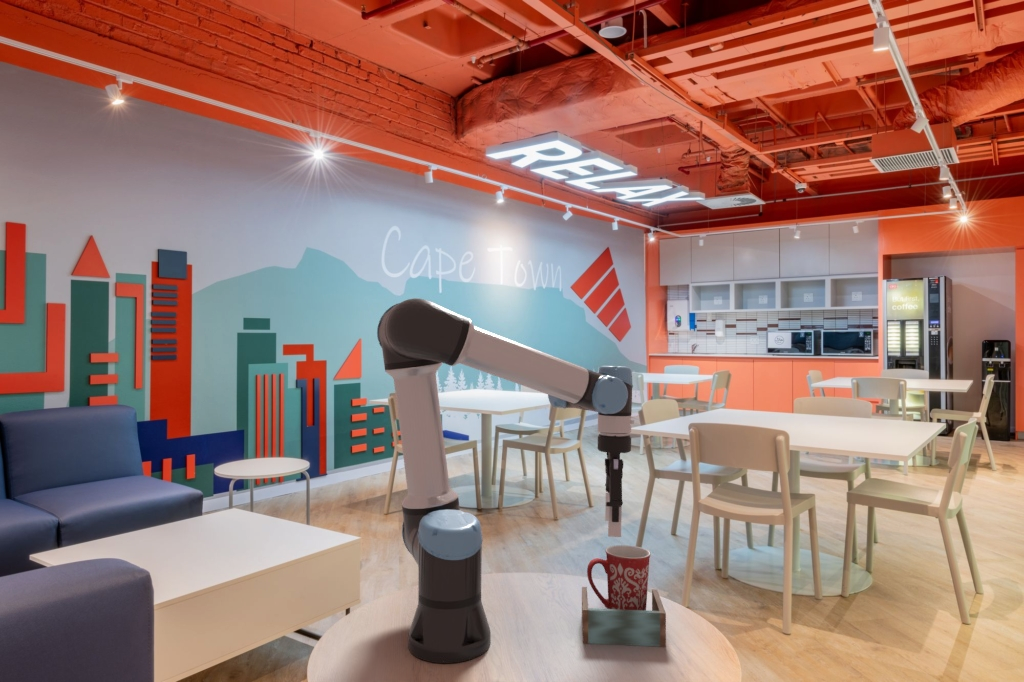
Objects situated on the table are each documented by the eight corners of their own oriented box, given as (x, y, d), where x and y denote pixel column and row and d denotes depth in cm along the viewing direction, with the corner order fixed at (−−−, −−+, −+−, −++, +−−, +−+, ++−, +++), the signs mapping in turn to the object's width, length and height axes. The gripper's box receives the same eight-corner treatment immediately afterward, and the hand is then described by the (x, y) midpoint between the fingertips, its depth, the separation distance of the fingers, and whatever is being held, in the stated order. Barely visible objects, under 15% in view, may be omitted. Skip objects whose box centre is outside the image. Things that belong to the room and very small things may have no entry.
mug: (645, 610, 133) (646, 545, 134) (654, 628, 124) (654, 558, 125) (584, 609, 134) (585, 544, 134) (589, 627, 125) (589, 557, 125)
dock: (582, 643, 118) (582, 610, 118) (581, 616, 130) (581, 586, 130) (665, 646, 117) (665, 613, 117) (657, 619, 129) (657, 589, 129)
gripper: (636, 441, 133) (634, 544, 132) (626, 428, 158) (625, 515, 157) (599, 439, 134) (597, 542, 133) (596, 427, 159) (594, 514, 158)
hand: (612, 528), depth 145 cm, fingers open, 13 cm apart
